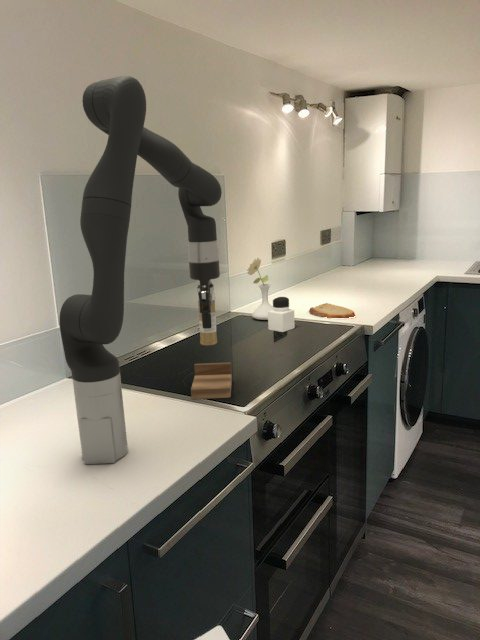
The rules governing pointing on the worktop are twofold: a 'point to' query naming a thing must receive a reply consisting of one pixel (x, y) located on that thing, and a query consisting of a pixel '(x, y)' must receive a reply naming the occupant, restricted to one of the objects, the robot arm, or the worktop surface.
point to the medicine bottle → (281, 315)
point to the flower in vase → (265, 306)
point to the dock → (212, 381)
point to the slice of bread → (331, 311)
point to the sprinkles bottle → (208, 334)
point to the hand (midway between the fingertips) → (207, 325)
